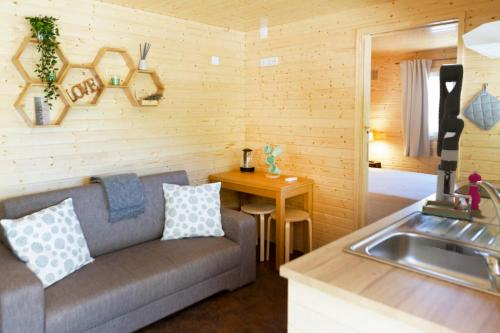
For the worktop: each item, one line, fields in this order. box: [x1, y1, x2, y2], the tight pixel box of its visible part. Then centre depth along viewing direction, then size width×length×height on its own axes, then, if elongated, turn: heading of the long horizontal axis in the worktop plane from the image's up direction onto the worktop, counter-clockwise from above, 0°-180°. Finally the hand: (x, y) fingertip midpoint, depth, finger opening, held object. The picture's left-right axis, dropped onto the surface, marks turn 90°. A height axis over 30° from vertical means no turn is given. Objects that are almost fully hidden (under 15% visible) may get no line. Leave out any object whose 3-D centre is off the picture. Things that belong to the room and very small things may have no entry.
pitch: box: [421, 197, 472, 220], centre depth 207 cm, size 16×21×8 cm
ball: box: [460, 202, 468, 211], centre depth 203 cm, size 4×4×4 cm
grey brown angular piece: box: [442, 182, 471, 210], centre depth 204 cm, size 6×13×14 cm, turn 61°
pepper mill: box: [464, 170, 482, 211], centre depth 214 cm, size 7×7×20 cm
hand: (446, 193), depth 206 cm, fingers closed on grey brown angular piece, 3 cm apart
